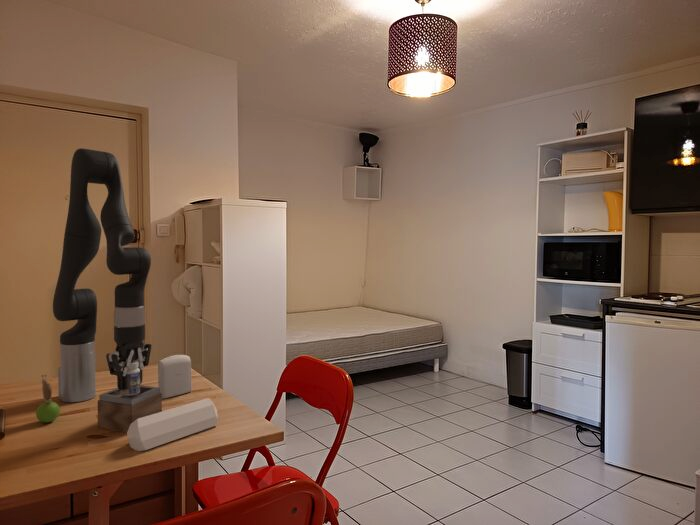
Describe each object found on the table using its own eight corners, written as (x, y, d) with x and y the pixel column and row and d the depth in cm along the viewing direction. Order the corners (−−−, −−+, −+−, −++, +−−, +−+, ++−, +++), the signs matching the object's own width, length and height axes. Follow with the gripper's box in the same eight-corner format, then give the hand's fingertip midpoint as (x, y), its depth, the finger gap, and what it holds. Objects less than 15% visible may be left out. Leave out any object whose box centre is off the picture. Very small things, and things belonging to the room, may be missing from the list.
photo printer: (162, 400, 147) (162, 359, 147) (156, 396, 150) (155, 357, 150) (193, 392, 155) (193, 354, 154) (186, 389, 158) (186, 351, 157)
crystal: (203, 402, 135) (116, 428, 116) (217, 395, 131) (129, 420, 112) (211, 429, 133) (124, 459, 114) (225, 421, 129) (137, 452, 110)
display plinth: (97, 427, 126) (97, 395, 126) (129, 412, 136) (129, 383, 136) (132, 433, 123) (131, 400, 122) (161, 418, 133) (161, 387, 132)
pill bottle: (132, 397, 126) (132, 365, 126) (116, 395, 127) (116, 363, 127) (144, 391, 131) (143, 360, 130) (128, 389, 132) (128, 359, 131)
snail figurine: (56, 415, 134) (55, 372, 133) (62, 422, 129) (61, 377, 128) (33, 420, 130) (32, 376, 129) (38, 427, 125) (38, 381, 125)
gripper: (137, 317, 136) (138, 377, 137) (96, 326, 122) (97, 393, 123) (160, 319, 134) (160, 380, 135) (120, 329, 120) (120, 396, 121)
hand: (130, 386), depth 129 cm, fingers closed on pill bottle, 4 cm apart
